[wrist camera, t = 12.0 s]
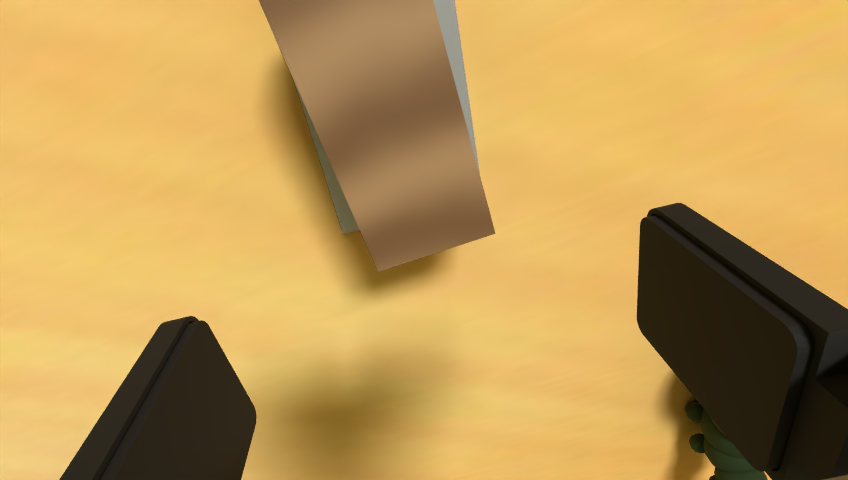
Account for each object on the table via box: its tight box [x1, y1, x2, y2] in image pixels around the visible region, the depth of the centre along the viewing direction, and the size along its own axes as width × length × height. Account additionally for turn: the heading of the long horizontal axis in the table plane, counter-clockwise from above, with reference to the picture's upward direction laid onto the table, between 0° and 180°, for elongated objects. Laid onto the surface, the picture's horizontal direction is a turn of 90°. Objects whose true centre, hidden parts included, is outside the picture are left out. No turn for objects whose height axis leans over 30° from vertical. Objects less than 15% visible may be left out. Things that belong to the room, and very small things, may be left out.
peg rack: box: [293, 0, 480, 234], centre depth 28 cm, size 11×20×6 cm, turn 11°
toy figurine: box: [685, 403, 767, 480], centre depth 40 cm, size 9×19×25 cm
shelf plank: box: [259, 0, 495, 272], centre depth 23 cm, size 16×7×4 cm, turn 18°
